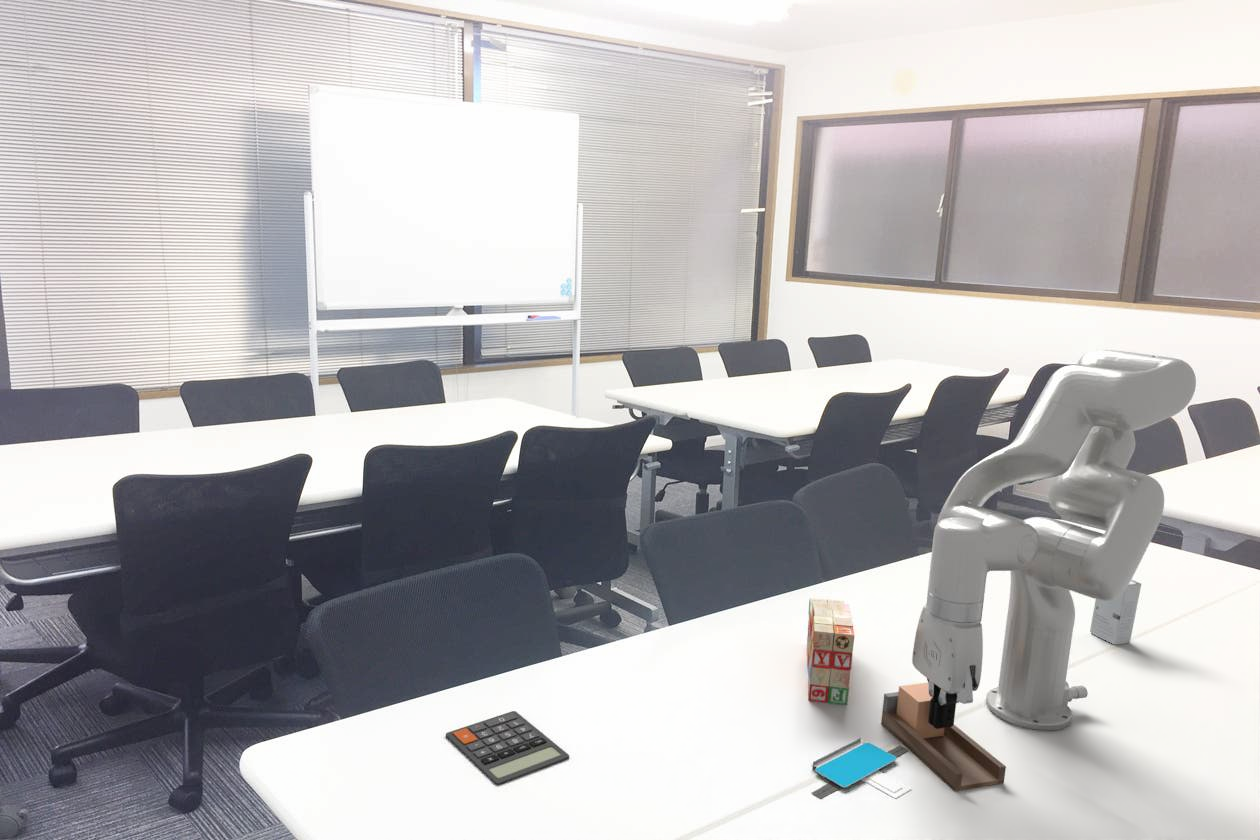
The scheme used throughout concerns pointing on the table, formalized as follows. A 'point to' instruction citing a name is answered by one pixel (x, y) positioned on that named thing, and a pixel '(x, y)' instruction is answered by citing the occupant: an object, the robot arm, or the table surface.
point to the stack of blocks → (829, 651)
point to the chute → (946, 752)
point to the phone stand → (858, 768)
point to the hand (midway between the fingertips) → (940, 724)
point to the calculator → (506, 747)
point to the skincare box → (1116, 615)
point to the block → (917, 709)
